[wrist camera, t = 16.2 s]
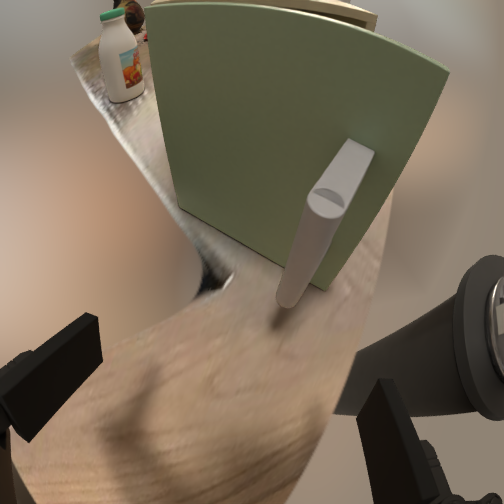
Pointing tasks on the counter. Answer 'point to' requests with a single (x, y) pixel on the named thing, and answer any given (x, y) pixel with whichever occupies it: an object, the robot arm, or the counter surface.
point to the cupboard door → (286, 127)
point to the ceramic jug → (131, 14)
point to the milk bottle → (119, 58)
